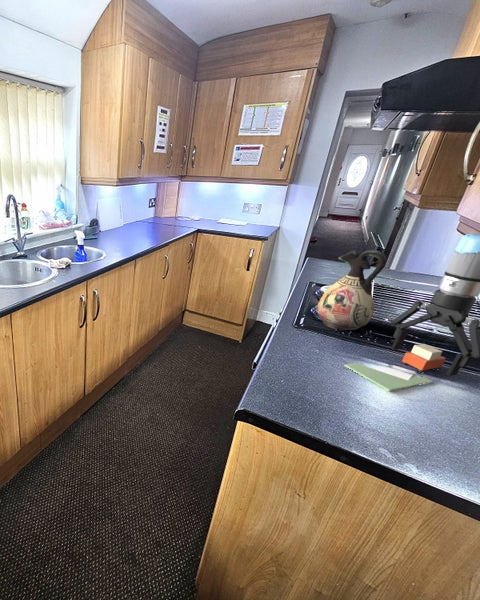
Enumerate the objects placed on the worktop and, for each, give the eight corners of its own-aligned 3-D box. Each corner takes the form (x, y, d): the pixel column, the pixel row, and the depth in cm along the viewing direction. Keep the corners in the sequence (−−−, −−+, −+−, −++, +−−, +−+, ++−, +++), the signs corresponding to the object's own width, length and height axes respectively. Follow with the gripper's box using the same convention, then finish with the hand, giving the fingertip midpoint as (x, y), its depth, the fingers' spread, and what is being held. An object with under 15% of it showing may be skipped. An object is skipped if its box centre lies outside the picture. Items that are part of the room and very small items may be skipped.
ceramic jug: (304, 325, 121) (328, 246, 109) (323, 315, 128) (348, 240, 116) (359, 345, 108) (394, 258, 96) (377, 332, 115) (411, 250, 103)
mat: (384, 359, 100) (385, 357, 99) (432, 383, 89) (433, 381, 89) (343, 366, 96) (344, 364, 96) (388, 391, 85) (389, 389, 85)
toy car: (419, 375, 92) (430, 354, 90) (399, 365, 97) (409, 345, 94) (439, 371, 94) (450, 350, 92) (419, 362, 99) (428, 342, 96)
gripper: (394, 278, 97) (367, 341, 105) (515, 313, 74) (469, 389, 83) (412, 277, 98) (384, 338, 107) (535, 311, 76) (488, 385, 84)
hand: (421, 361), depth 95 cm, fingers open, 13 cm apart
